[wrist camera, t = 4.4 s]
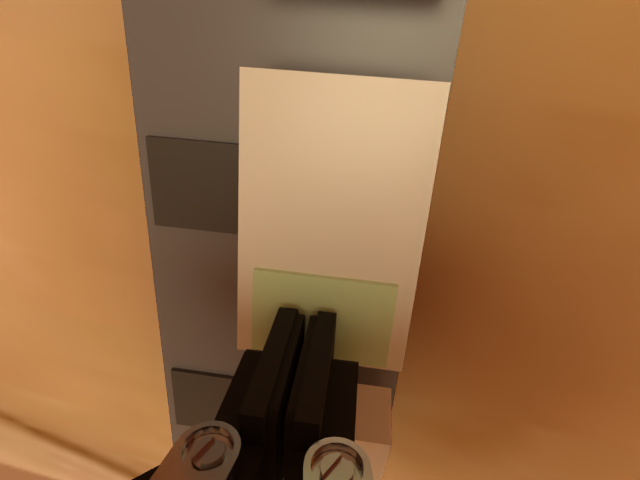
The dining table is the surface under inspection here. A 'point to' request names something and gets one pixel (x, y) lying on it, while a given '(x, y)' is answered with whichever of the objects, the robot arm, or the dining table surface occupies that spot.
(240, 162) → the rocker middle
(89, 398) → the dining table surface
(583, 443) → the dining table surface
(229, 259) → the power strip
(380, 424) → the rocker
